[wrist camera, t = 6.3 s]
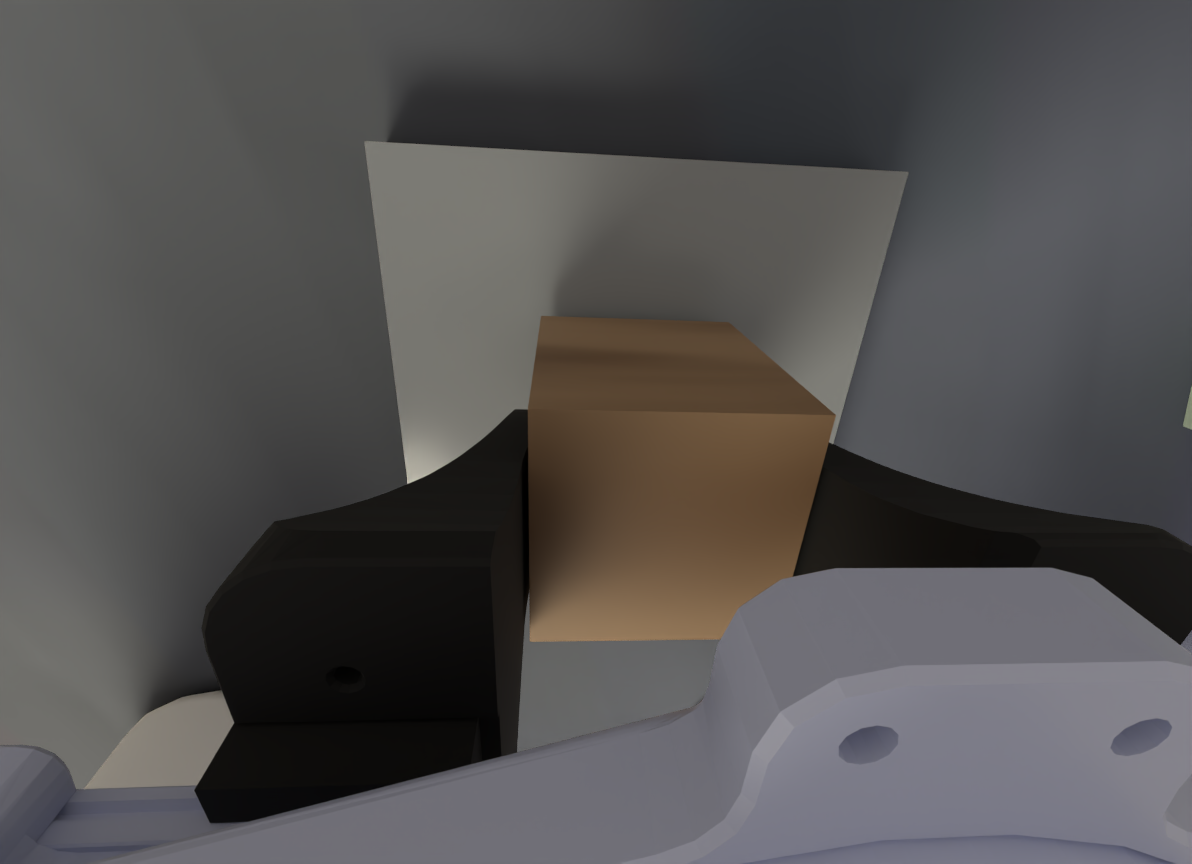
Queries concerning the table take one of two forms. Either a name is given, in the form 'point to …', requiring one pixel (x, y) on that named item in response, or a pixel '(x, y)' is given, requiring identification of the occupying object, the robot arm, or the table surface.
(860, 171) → the grey square tile
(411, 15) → the table surface
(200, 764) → the potion bottle
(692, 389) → the walnut block
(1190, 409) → the pale green block
